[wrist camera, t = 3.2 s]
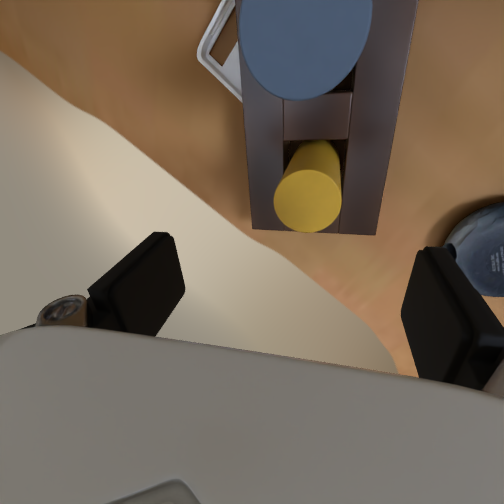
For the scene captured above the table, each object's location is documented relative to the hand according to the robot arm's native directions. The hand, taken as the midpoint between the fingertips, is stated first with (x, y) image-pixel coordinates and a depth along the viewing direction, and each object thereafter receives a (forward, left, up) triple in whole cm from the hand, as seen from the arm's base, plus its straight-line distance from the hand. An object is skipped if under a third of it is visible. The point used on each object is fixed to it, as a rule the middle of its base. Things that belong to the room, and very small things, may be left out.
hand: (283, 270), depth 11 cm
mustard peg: (0, 0, -17) cm, 17 cm away
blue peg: (0, -8, -17) cm, 19 cm away
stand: (0, -4, -17) cm, 17 cm away
